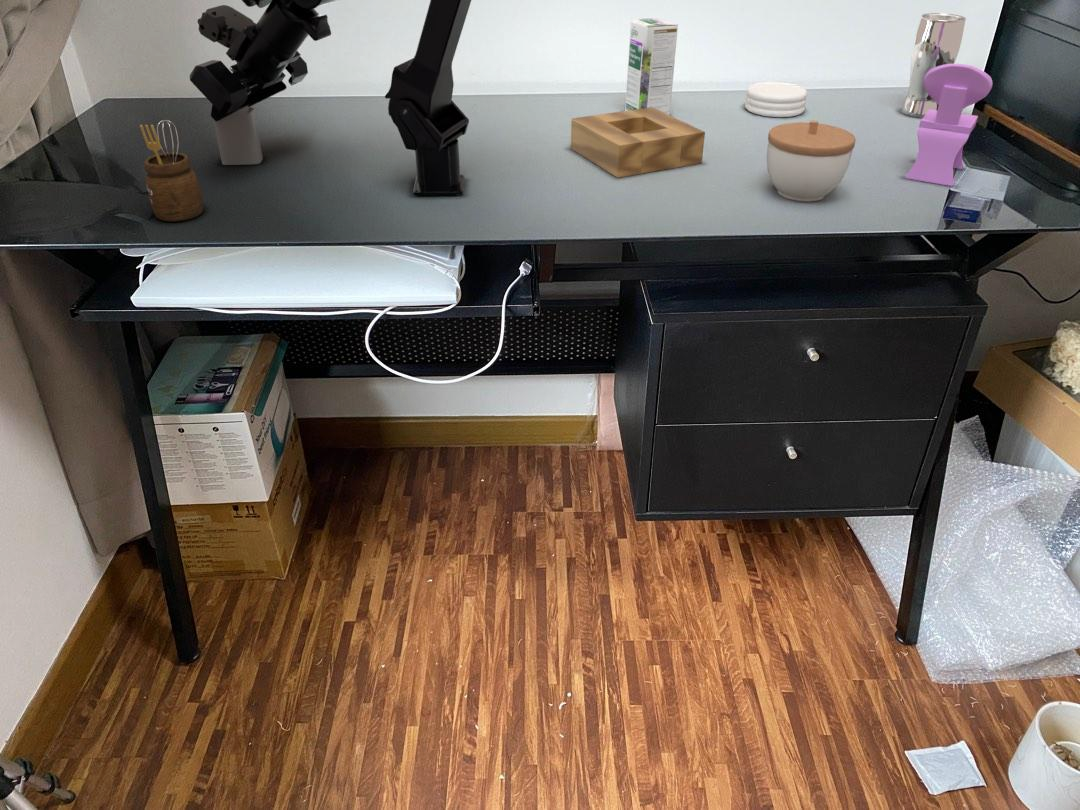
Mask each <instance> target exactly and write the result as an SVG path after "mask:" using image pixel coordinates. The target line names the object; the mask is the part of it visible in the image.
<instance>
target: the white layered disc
mask: <svg viewBox="0 0 1080 810" xmlns="http://www.w3.org/2000/svg"><path fill="white" fill-rule="evenodd" d="M807 97H808V90H807V89H806V88H805V87H803V86H801V85H798V84H793V83H789V82H783V81H782V82H781V81H763V82H762V81H761V82H755V83H752V84H750V85H749V86H748V87H747V88H746V95H745V102H744V107H745V109H746V110H747V111H748V112H750V113H753V114H755V115H758V116H762V117H763V116H764V117H770V118H791V117H796V116H799V115H801V114H802V113H804V112H805V110H806V103H807Z"/></svg>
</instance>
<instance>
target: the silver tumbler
mask: <svg viewBox="0 0 1080 810" xmlns="http://www.w3.org/2000/svg"><path fill="white" fill-rule="evenodd" d="M966 20H967V18H966V17H965V16H962V15H959V14H953V13H946V12H945V13H944V12H929V13H923V14H921V16H920V20H919V24H918V27H917V31H916V33H915V37H914V41H913V45H912V51H911V58H910V72H909V84H908V90H907V94H906V96H905V99H904V101H903V104H902V106H901V109H900V112H901V114H903V115H906V116H908V117H912V118H919V119H922V118H923V117H924V116H925V115H926V113H927V112H928V110H929V109H930V110H938V106H939V105H938V103H937V102H936V101H935V100H934V99H932V98H931V96H930V95H929V94H928V93H927V92H926V90H925V89H924V85H923V82H924V77H925V75H926V73H927V72H928V71H929V70H931V69H933V68H935V67H937V66H941V65H945V64H956V61H957V58H958V55H959V52H960V48H961V44H962V40H963V35H964V29H965V24H966Z"/></svg>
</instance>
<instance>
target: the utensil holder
mask: <svg viewBox="0 0 1080 810" xmlns="http://www.w3.org/2000/svg"><path fill="white" fill-rule="evenodd" d="M165 122H167V124H168V126H169V132H170V136H171V143H172V145H171V146H172V152H169V151H168V147H167V142H166V137H165V131H164V123H165ZM169 122H170V123H171V124H172V125H173V126H174V128H175V133H176V138H177V139H176V140H179V135H178V131H177V127H176V126H175V124H174V123H173V122H172V121H170V120H169V119H164V120H163V119H162V120H160V121H159V122H158V123H157V126H156V129H155V126H154V124H150V127H149V125H148V124H145V125H144V126H143V124H140V125H139V128H140V131H141V133H142V137H143V139H144V143H145V145H146V148H147V149H148V150H150V151H152V152H154V154H153V155H150V156H148V157H147V158H145V160H144V162H143V165H144V171H145V172H146V177H145V186H146V189H147V193H148V198H149V201H150V205H151V208H152V211H153V214H154V216H155V218H157V219H158V220H159V221H162V222H169V223H170V222H171V223H172V222H174V223H175V222H184V221H189V220H192V219H195V218H197V217H199V216H201V215H202V213H203V211H204V202H203V198H202V194H201V189H200V184H199V180H198V177H197V174H196V172H195V171H194V170H193V169H192V168H191V167H192V163H191V160H190V158H189V156H188V155H187V154H186V153H182V152H178V151H179V143H180V142H179V141H177V148H176V151H175V146H174V144H175V143H174V139H173V138H174V137H173V133H172V128H171V125H170V123H169ZM160 123H161V130H162V136H163V140H164V142H163V143H164V146H165V149H166V152H165V151H164V150H163V147H162V145H161V141H160V137H159V136H160V135H158V134H159V125H160ZM144 127H145V129H144ZM150 128H151V130H150ZM146 133H147V134H146ZM147 135H148V136H147ZM148 138H149V139H148ZM154 139H155V140H154ZM160 150H162V152H161V153H159V151H160Z"/></svg>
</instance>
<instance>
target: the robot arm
mask: <svg viewBox="0 0 1080 810" xmlns="http://www.w3.org/2000/svg"><path fill="white" fill-rule="evenodd" d="M339 1H340V0H241V2H242V3H243V4H244V5H245V6H246V7H248V8H249V7H250V8H251V7H254V6H257V8H259V9H262V8H265V7H266V9H265V10H264V12H263V13H262V15H261V17H260V18H259V20H258V21H257V22H255V21H254V20H252V19H251V18H250V17H249V16H247V15H245V14H244V13H242V12H240V11H238V10H237V9H235V8H233V7H232V6H230V5H227V4H222V5H217V6H214V7H210V8H207V9H206V10H205V11H204V12H202V13H201V16H200V18H198V19H197V24H198V32H199V34H200V35H201V36H202V37H204V38H206V39H207V40H209V41H211V42H213V43H218V44H219V45H221V46H223V47H225V48H227V51H226V52H225V55H227V57H228V58H230V60H231V61H233V62H234V61H235V62H236V63H235V64H232V65H230V67H227V66H226V65H225V63H224V62H222V60H217V59H212V60H208V61H206V62H203V63H200V64H197V65H195V66H194V67H193V70H192V71H191V72H190V73H189V81H190V82H191V84H193V86H195V88H197V90H198V91H199V92H200V93H201V94H202V95H203V96H204V97H205V98H206V99H207V100H208V101H209V102H210V103H211V109H210V118H212V120H213V119H214V120H215V121H216V122H217V121H219V120H221V119H223V118H225V117H227V116H229V115H231V114H233V113H235V112H237V111H239V110H241V109H243V108H245V107H247V106H248V107H252V106H255V105H256V104H259V103H260V102H262V101H265V100H266V99H270V98H271V97H273V96H275V95H278V93H281V92H284V91H285V90H287V85H286V83H285V82H284V81H283V80H284V79H285V78H286V74H285V73H284V71H285V70H286V71H287V73H288V74H289V75H290V77H289V78H288V80H287V82H288V84H289V85H290V86H294V85H296V84H299V83H302V81H303V80H304V79H305V78H306V77H307V75H308V74H309V70H308V63H307V62H306V61H305V60H304V59H303V57H302V56H301V53H300V52H299V49H300V48H301V47H302V46H303V44H304V42H305V41H306V40H307V38H308V37H310V38H311V39H312V40H313V41H314V42H317V41H320V40H323V39H326V38H328V37H330V36H331V35H332V30H331V26H330V24H329V21H328V15H327V14H320V13H319V12H318V11H317V10H316V9H317V8H320V7H323V6H326V5H329V4H334V3H336V2H339ZM471 2H472V0H430V1H429V4H428V8H427V10H426V11H427V12H426V15H425V19H424V22H423V26H422V29H421V33H420V37H419V41H418V43H417V48H416V51H415V54H414V56H413V58H410V59H408V60H406V61H404V62H402V63H400V64H398V65H395V66H394V67H393V70H392V72H391V81H390V87H389V89H388V92H387V93H386V94H385V95H384V99H389V100H388V103H387V114H388V116H389V117H390V118H391V121H392V122H393V124H394V125H395V126H396V128H397V130H398V133H399V135H400V138H401V140H402V143H403V145H404V147H405V149H406V150H411V151H414V155H415V167H416V177H415V181H414V182H415V183H414V186H413V191H412V193H413V196H417V197H418V196H461V195H463V194H464V188H465V187H464V186H465V175H464V174H461V165H460V147H459V138H460V137H461V136H464V135H466V133H467V130H468V126H469V123H470V119H469V118H468V117H467V116H466V114H465V113H464V112H463V111H462V110H461V109H460V107H459V106H458V105H457V104H456V103H455V102H454V101H453V100H452V99H453V92H454V85H455V84H454V75H453V68H452V67H453V60H454V58H455V55H456V51H457V49H458V45H459V41H460V38H461V35H462V32H463V29H464V25H465V23H466V19H467V15H468V13H469V9H470V6H471Z"/></svg>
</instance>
